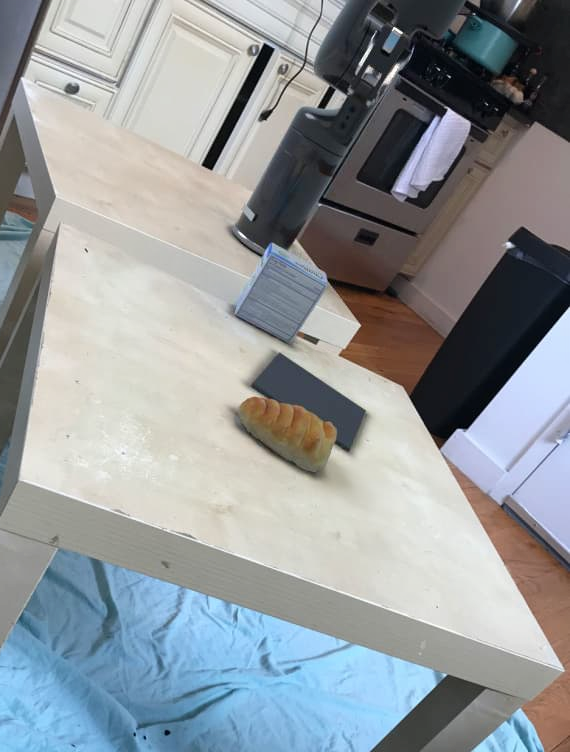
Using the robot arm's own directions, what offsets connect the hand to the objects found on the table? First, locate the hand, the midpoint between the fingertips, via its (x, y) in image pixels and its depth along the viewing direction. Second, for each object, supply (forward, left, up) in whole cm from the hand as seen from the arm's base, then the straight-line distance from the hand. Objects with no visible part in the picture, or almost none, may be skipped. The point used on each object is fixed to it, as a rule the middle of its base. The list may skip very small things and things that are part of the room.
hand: (339, 136), depth 77 cm
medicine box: (-4, +3, -23) cm, 23 cm away
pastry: (+21, +13, -23) cm, 33 cm away
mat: (+8, +13, -22) cm, 27 cm away
